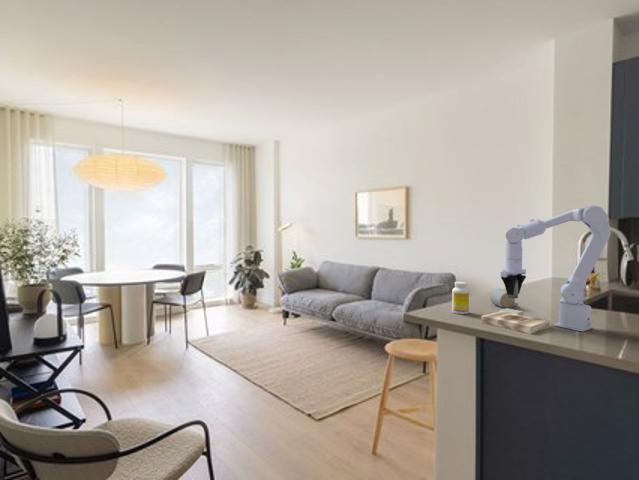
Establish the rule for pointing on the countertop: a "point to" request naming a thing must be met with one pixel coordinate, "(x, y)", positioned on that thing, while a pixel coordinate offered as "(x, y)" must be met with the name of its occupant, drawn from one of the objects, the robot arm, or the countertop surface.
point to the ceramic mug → (502, 299)
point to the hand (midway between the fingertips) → (513, 294)
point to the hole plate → (515, 322)
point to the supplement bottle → (460, 298)
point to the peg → (515, 291)
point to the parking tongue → (512, 311)
